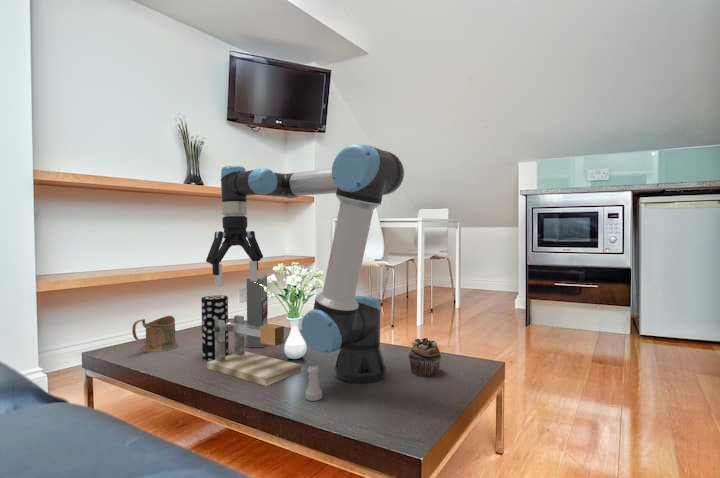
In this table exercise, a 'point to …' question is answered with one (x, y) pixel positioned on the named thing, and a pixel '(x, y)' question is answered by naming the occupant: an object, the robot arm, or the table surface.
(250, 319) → the tall grey upright block
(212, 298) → the white-spotted black cylinder
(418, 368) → the cupcake
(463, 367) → the table surface
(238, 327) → the lever
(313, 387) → the rook chess piece
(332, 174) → the robot arm
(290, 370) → the press base
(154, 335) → the mug
